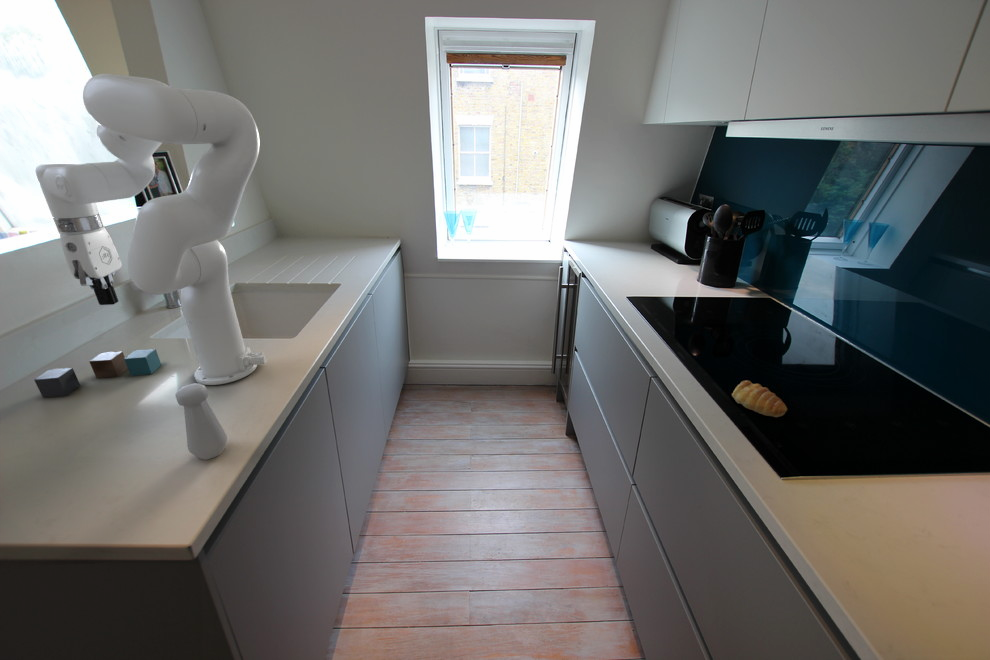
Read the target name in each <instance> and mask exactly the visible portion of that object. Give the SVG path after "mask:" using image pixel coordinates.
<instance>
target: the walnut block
mask: <svg viewBox="0 0 990 660" xmlns="http://www.w3.org/2000/svg"><path fill="white" fill-rule="evenodd" d="M125 356H126V355H125V353H124V351H122V350H119V351H106V352H104V351H103V352H101V353H99V354H98V355H96V356H94V357H93V358H91V360H89V361H88V362H89V364H90V367H91V369H92V372H93V373H94V376H95V379H107V378H118V377H119V376H121V375H122V374H123V373H125V372H126V371H128V367H127V365H126V362H125V360H124V359H125V358H126V357H125Z"/></svg>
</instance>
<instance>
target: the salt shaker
mask: <svg viewBox="0 0 990 660" xmlns="http://www.w3.org/2000/svg"><path fill="white" fill-rule="evenodd" d="M208 397H209V392H208V389H207V386H206V385H205V384H201V383H198V382H197V383H190V384H186V385H184V386H182V387H180V388H179V389H178V390H177V391H176V393H175V398H176V402H177V404H178V405H179V406H181V407H183V412H184V422H185V432H186V434H185V435H186V447H187V450H188V452H189V453H191V454H192V455H193V456H194V457H196V458H197V459H198V460H205V461H209V460H211V459H214V458H216V457H219V456H220V455H221V454H222V453H223V452H224V451H225V449H226V447H227V446H226V445H227V441H228V435H227V433H226V431H225V429H224V428H223V426H222V425H221V423H220V421H219V420H218V418H217V416H216V415H215V413H214V410H213V409H212V407H211V406H210V404H209V403H208V400H207V398H208Z"/></svg>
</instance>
